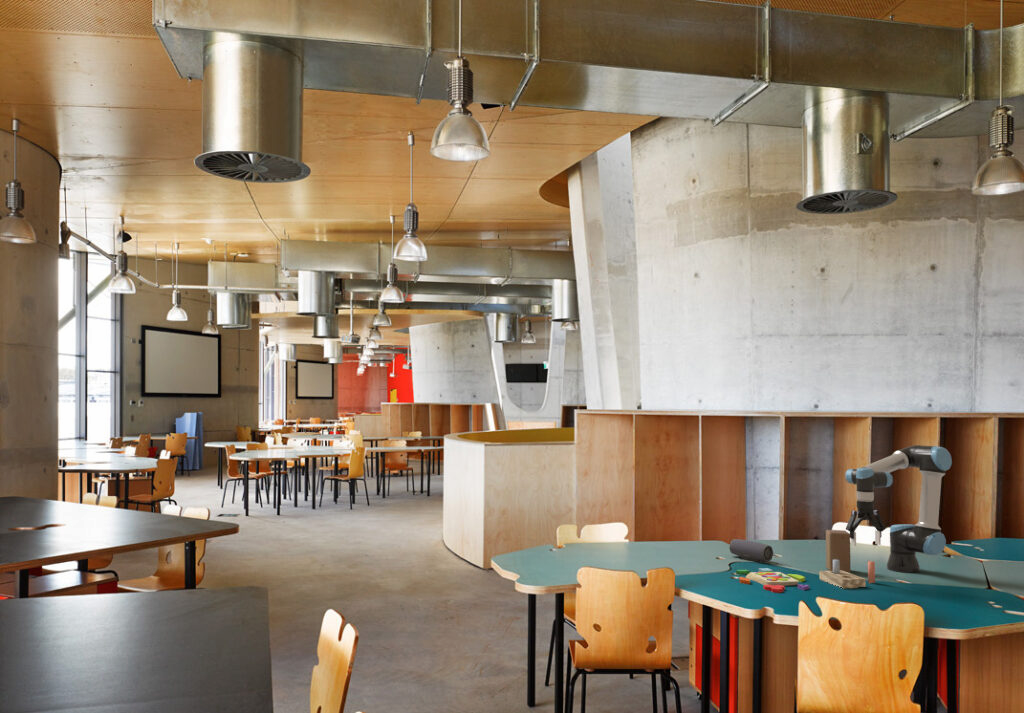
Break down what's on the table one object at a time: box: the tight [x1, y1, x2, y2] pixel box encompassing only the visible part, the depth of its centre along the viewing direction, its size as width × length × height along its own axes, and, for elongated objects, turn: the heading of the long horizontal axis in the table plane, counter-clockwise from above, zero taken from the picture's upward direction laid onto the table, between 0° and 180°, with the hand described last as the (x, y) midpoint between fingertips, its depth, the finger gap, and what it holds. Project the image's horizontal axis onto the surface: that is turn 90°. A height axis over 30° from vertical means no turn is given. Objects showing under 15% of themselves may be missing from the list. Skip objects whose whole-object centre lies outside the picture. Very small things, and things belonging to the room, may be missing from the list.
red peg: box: [867, 560, 876, 584], centre depth 362 cm, size 3×3×10 cm
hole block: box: [818, 570, 867, 589], centre depth 360 cm, size 12×18×4 cm, turn 11°
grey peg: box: [833, 560, 840, 574], centre depth 364 cm, size 3×3×10 cm
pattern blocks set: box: [735, 567, 810, 594], centre depth 363 cm, size 38×34×3 cm
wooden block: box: [825, 529, 851, 574], centre depth 388 cm, size 10×10×20 cm
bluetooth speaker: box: [728, 538, 774, 562], centre depth 413 cm, size 23×9×10 cm, turn 34°
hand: (865, 545), depth 364 cm, fingers open, 13 cm apart
